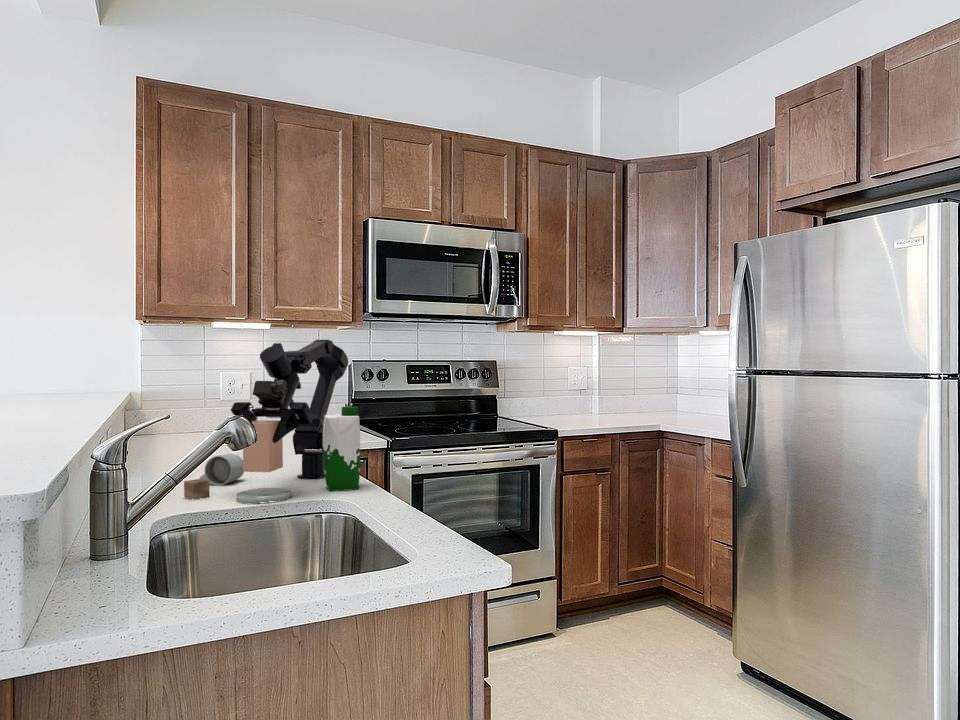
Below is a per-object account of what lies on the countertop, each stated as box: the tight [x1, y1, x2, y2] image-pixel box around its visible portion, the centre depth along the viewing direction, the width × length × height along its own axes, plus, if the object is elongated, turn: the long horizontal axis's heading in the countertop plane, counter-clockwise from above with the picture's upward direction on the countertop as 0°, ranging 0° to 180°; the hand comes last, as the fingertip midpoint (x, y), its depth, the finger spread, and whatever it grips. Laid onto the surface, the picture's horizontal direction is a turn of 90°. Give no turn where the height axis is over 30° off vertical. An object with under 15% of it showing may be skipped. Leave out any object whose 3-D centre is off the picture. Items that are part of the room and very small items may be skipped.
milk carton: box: [323, 405, 361, 492], centre depth 160 cm, size 9×9×20 cm
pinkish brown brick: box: [242, 419, 284, 473], centre depth 149 cm, size 6×6×11 cm
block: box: [183, 478, 211, 500], centre depth 150 cm, size 4×4×4 cm
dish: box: [235, 487, 292, 504], centre depth 149 cm, size 12×12×1 cm
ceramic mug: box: [199, 453, 245, 486], centre depth 168 cm, size 11×8×8 cm
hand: (260, 441), depth 147 cm, fingers closed on pinkish brown brick, 6 cm apart
